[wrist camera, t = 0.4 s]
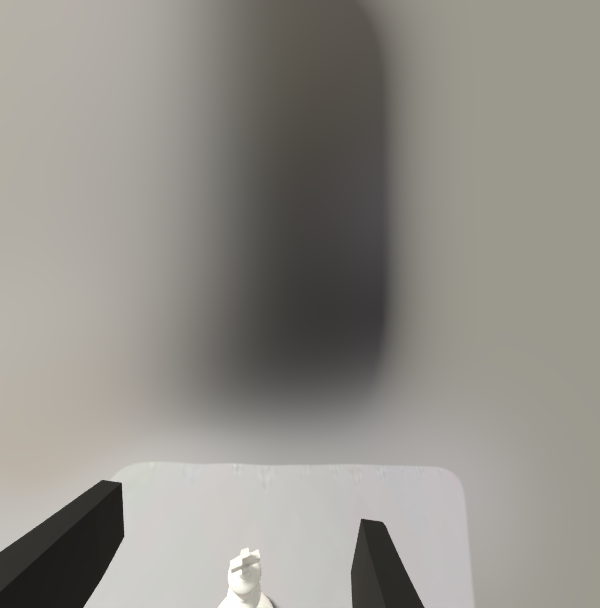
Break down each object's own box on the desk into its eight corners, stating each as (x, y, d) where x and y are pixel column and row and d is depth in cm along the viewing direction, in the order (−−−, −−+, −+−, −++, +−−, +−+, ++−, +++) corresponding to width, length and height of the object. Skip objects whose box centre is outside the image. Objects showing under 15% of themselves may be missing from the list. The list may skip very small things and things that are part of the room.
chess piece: (287, 666, 19) (299, 585, 16) (211, 710, 18) (205, 630, 14) (267, 579, 24) (272, 499, 20) (204, 607, 22) (197, 524, 18)
